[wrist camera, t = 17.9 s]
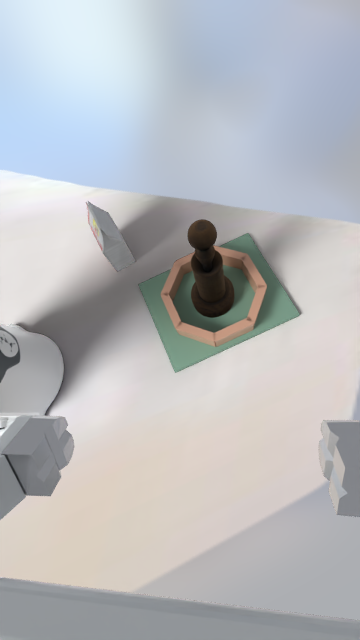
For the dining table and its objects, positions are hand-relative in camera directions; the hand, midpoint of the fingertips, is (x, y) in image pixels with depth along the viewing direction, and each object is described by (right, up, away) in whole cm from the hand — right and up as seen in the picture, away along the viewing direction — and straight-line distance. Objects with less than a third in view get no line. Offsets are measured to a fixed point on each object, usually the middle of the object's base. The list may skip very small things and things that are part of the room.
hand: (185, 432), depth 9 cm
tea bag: (-11, +16, +44) cm, 48 cm away
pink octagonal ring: (+5, +7, +37) cm, 38 cm away
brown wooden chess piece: (+5, +7, +37) cm, 38 cm away
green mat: (+5, +7, +37) cm, 38 cm away
